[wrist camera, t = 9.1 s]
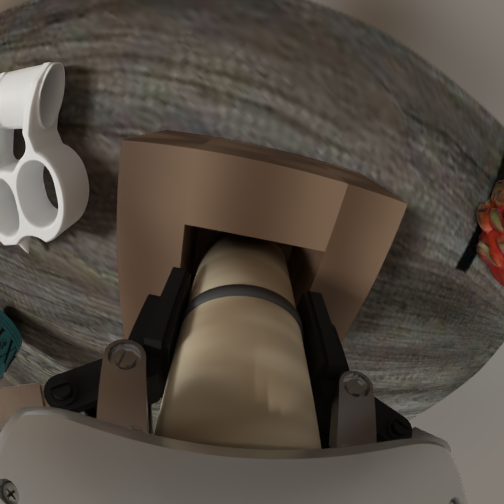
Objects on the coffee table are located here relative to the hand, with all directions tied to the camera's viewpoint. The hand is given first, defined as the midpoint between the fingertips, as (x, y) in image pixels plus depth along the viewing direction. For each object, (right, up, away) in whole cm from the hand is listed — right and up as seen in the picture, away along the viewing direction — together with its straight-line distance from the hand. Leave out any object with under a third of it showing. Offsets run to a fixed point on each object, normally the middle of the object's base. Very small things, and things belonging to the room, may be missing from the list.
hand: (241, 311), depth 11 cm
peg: (0, +2, +3) cm, 3 cm away
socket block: (0, +3, +6) cm, 7 cm away
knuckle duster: (-19, +10, +3) cm, 22 cm away
